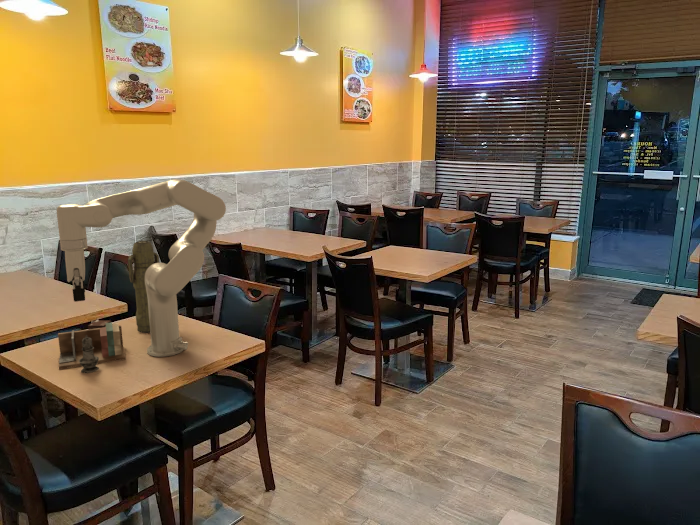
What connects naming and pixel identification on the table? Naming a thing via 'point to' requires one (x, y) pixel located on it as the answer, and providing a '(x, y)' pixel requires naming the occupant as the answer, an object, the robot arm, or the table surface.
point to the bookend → (69, 353)
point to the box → (98, 324)
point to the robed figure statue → (141, 280)
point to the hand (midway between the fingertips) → (79, 296)
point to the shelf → (94, 344)
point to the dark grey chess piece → (88, 357)
